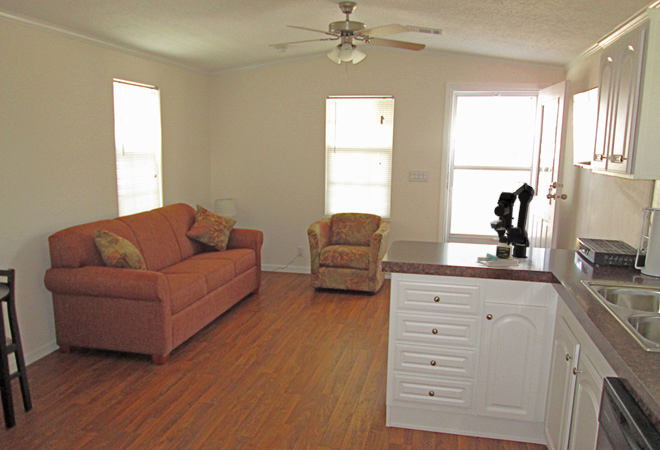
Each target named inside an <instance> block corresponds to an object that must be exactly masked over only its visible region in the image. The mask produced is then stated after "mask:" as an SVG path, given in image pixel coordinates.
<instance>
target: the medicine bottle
mask: <svg viewBox="0 0 660 450" xmlns="http://www.w3.org/2000/svg"><path fill="white" fill-rule="evenodd" d="M495 248H496V249H495V250H496V252H495V256H497V259H503V260H510V259H511V258H512V257H513V256H512V255H513V246H512V244H510V245H507V235H505V236H500V237H498V244H497V245H496V247H495ZM512 259H513V258H512Z"/></svg>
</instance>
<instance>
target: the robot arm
mask: <svg viewBox="0 0 660 450" xmlns="http://www.w3.org/2000/svg"><path fill="white" fill-rule="evenodd" d="M534 196H535V189H534V187H533V186H531V185H529V184H528V183H527V182H526V181H524V182H523V181H518V182H516V184H515V185H514V186H512V187H511V188H510V189H506V190H503V191H501V193H500V194H499V197H498V200H497V202H496V203H497V206H496V207H494V210H493V213H494V215H495V216H496V217H498V219H496V220H493V221H491V222H490V223H489V224H490V227H491V229H493V231H495V232H496V233H497V236H498V238H499V237H500V236H507V245H512V257H514V258H517V259H518V258H519V259H520V258H522V259H523V258H525V259H526V258H528V256H527V248H530V245H531V243H530V239H529V237H528V235H529V234H528V232H527V219H528V215H529V206H530V203H531V202H532V200H533V199H534ZM517 199H518V201H519V208H518V215H517V223H516V226H514V224H513V220H515V217H513V213H514V206H515V203H516V201H517Z"/></svg>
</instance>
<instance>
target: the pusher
mask: <svg viewBox="0 0 660 450" xmlns="http://www.w3.org/2000/svg"><path fill="white" fill-rule="evenodd" d="M479 257H480V258H478V257H477V260H478V259H486V260H488V261H497V256H496V254H495V255H494V254H492V253H490V252H486V256H479Z"/></svg>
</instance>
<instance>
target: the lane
mask: <svg viewBox="0 0 660 450" xmlns="http://www.w3.org/2000/svg"><path fill="white" fill-rule="evenodd" d="M480 257H481V256H477V260H476V261H477V262H478V263H480V264H482V265H485V266H487V267H507V266H509V267H510V265H511V266H519V260H518V259H514V258H511V259H510V260H503V259H497V261H488V260H486V259H478V258H480Z"/></svg>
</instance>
